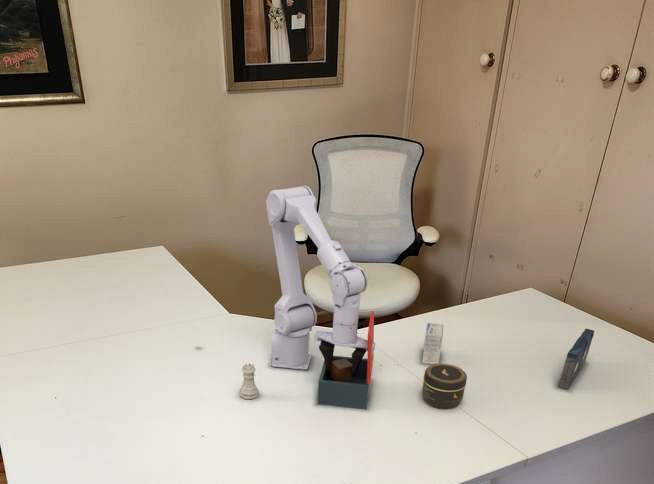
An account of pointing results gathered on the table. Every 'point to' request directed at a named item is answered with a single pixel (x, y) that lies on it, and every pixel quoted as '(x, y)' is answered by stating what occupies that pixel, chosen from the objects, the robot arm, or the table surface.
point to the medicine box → (432, 343)
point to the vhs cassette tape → (576, 359)
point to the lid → (370, 348)
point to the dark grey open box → (344, 388)
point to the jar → (443, 386)
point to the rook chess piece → (248, 383)
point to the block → (341, 370)
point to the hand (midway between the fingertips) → (341, 372)
